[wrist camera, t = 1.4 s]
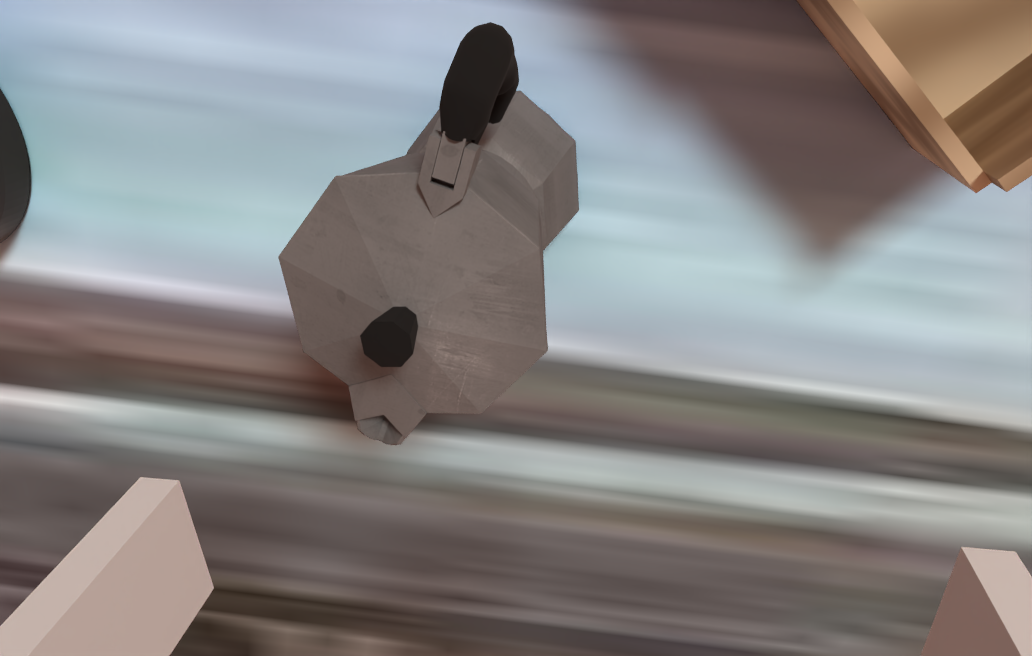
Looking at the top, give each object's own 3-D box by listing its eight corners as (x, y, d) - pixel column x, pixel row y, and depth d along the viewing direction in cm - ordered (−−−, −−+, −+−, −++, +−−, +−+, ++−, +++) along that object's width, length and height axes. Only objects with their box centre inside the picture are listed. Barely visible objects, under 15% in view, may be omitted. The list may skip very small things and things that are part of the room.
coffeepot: (540, 314, 39) (475, 550, 24) (383, 259, 39) (213, 459, 24) (645, 34, 32) (651, 109, 16) (451, -35, 32) (267, -27, 16)
